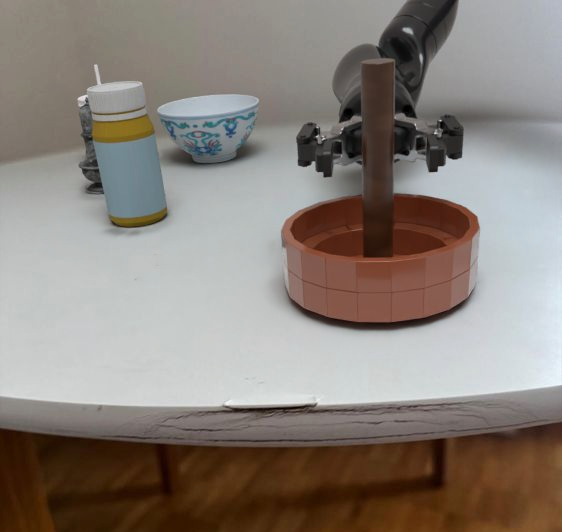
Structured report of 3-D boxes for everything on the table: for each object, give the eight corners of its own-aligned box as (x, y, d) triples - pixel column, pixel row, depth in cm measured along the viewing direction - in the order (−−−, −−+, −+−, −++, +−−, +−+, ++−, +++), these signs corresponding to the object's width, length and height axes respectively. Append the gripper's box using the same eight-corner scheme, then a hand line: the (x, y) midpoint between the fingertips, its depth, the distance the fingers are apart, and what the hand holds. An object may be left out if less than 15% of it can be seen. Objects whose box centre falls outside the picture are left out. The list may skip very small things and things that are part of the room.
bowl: (435, 243, 70) (438, 184, 67) (506, 315, 56) (513, 245, 53) (274, 264, 69) (269, 205, 66) (305, 343, 55) (300, 273, 52)
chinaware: (226, 174, 97) (219, 117, 93) (145, 166, 105) (136, 113, 101) (281, 148, 108) (277, 95, 104) (205, 142, 115) (198, 93, 111)
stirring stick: (396, 265, 64) (399, 54, 55) (412, 286, 60) (418, 61, 51) (345, 272, 64) (339, 60, 54) (358, 293, 60) (354, 68, 50)
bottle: (104, 216, 86) (75, 87, 78) (157, 204, 88) (135, 78, 80) (119, 232, 80) (91, 95, 72) (176, 219, 83) (154, 85, 75)
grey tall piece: (114, 179, 100) (96, 90, 94) (134, 186, 96) (117, 94, 90) (76, 189, 97) (55, 98, 91) (95, 197, 93) (75, 103, 87)
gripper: (447, 153, 71) (467, 204, 57) (308, 160, 72) (294, 211, 59) (451, 74, 67) (473, 108, 53) (304, 83, 68) (288, 119, 55)
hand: (379, 162), depth 56 cm, fingers open, 8 cm apart
